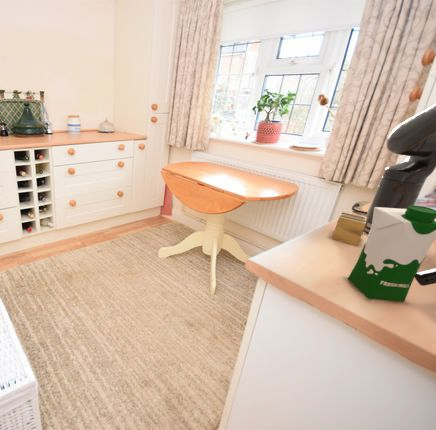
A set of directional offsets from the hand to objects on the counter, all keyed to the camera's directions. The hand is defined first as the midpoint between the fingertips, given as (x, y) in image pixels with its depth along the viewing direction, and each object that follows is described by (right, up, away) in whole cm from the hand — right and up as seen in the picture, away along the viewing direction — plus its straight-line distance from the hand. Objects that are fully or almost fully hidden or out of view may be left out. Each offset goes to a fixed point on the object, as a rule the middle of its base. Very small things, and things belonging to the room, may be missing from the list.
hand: (417, 279), depth 58 cm
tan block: (+8, +6, +28) cm, 30 cm away
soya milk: (-4, -4, +5) cm, 8 cm away
